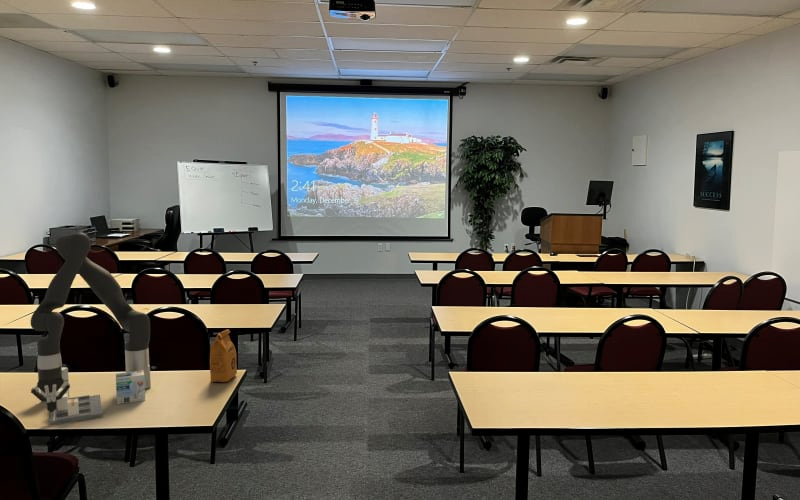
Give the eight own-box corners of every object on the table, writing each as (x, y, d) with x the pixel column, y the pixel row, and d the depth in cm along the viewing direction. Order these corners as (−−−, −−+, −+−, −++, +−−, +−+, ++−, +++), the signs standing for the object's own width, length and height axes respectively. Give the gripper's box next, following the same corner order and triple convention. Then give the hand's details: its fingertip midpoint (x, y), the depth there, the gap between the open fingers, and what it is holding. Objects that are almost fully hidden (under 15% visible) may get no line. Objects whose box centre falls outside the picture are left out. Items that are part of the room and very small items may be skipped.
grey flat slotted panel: (100, 398, 242) (99, 393, 242) (102, 416, 223) (102, 411, 223) (52, 405, 234) (51, 400, 234) (50, 425, 215) (49, 420, 215)
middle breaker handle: (68, 405, 229) (67, 393, 228) (68, 409, 225) (67, 396, 225) (57, 407, 227) (57, 394, 226) (57, 410, 224) (56, 398, 223)
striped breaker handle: (78, 410, 224) (78, 397, 223) (78, 414, 220) (78, 401, 220) (68, 412, 222) (67, 399, 222) (68, 416, 219) (67, 403, 218)
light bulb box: (116, 404, 236) (115, 378, 234) (116, 399, 241) (115, 373, 240) (146, 400, 240) (144, 374, 239) (144, 394, 246) (143, 369, 245)
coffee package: (240, 375, 272) (239, 328, 269) (227, 384, 260) (226, 335, 257) (220, 373, 274) (219, 327, 271) (206, 382, 262) (205, 334, 259)
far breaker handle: (68, 399, 235) (67, 387, 235) (68, 402, 232) (67, 390, 231) (58, 400, 234) (57, 388, 233) (58, 404, 230) (57, 391, 230)
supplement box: (56, 403, 236) (54, 373, 234) (40, 402, 237) (38, 371, 236) (70, 397, 243) (68, 367, 242) (54, 395, 245) (52, 366, 243)
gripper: (70, 360, 222) (72, 404, 224) (29, 365, 216) (31, 410, 218) (70, 365, 216) (72, 411, 218) (27, 370, 210) (30, 417, 211)
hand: (51, 411), depth 218 cm, fingers closed
